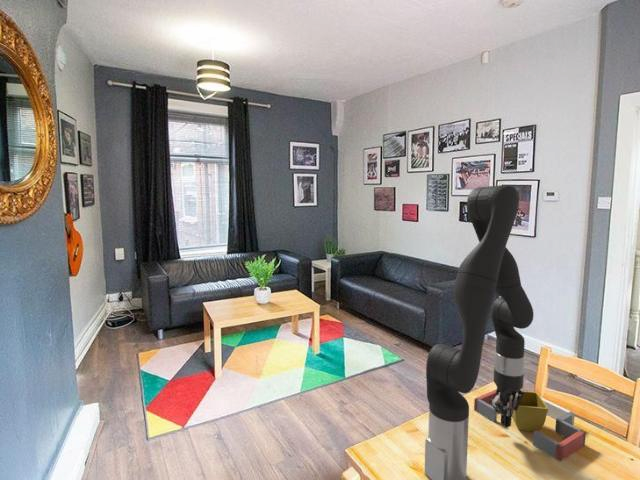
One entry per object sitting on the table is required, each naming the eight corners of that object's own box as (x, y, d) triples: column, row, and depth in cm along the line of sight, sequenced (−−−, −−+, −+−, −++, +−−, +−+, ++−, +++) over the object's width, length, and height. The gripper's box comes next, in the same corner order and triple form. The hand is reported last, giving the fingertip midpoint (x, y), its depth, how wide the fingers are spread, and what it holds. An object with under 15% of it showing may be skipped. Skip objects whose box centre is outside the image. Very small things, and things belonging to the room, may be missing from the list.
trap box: (596, 437, 104) (597, 424, 104) (560, 461, 95) (561, 447, 94) (510, 393, 127) (510, 383, 127) (474, 410, 118) (474, 398, 117)
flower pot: (547, 437, 104) (549, 408, 103) (514, 434, 106) (515, 405, 105) (535, 419, 113) (537, 392, 112) (505, 416, 115) (506, 389, 113)
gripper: (506, 380, 96) (503, 440, 98) (535, 368, 102) (532, 425, 104) (481, 368, 102) (479, 425, 104) (510, 358, 109) (507, 411, 111)
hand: (505, 425), depth 104 cm, fingers closed
